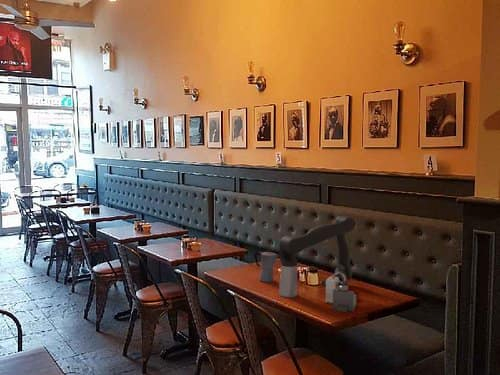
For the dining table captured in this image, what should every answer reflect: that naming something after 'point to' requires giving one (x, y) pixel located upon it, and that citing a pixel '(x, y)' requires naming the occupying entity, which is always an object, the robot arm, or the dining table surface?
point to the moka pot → (266, 265)
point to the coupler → (344, 299)
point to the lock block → (331, 288)
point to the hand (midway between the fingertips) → (332, 286)
